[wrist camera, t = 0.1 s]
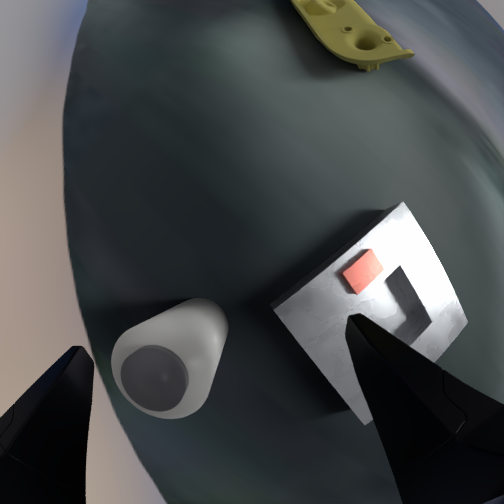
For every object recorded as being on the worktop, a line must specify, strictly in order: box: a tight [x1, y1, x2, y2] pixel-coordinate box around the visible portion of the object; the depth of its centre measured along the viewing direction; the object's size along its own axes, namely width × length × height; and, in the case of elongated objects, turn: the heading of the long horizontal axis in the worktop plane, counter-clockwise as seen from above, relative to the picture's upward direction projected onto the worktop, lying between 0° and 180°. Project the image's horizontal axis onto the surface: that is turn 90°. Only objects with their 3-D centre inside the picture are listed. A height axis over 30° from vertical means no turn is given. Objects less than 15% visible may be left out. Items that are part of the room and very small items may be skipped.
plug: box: [111, 298, 228, 419], centre depth 16 cm, size 5×5×12 cm
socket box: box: [270, 202, 468, 425], centre depth 21 cm, size 14×14×4 cm
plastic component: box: [291, 0, 414, 72], centre depth 23 cm, size 20×7×10 cm
